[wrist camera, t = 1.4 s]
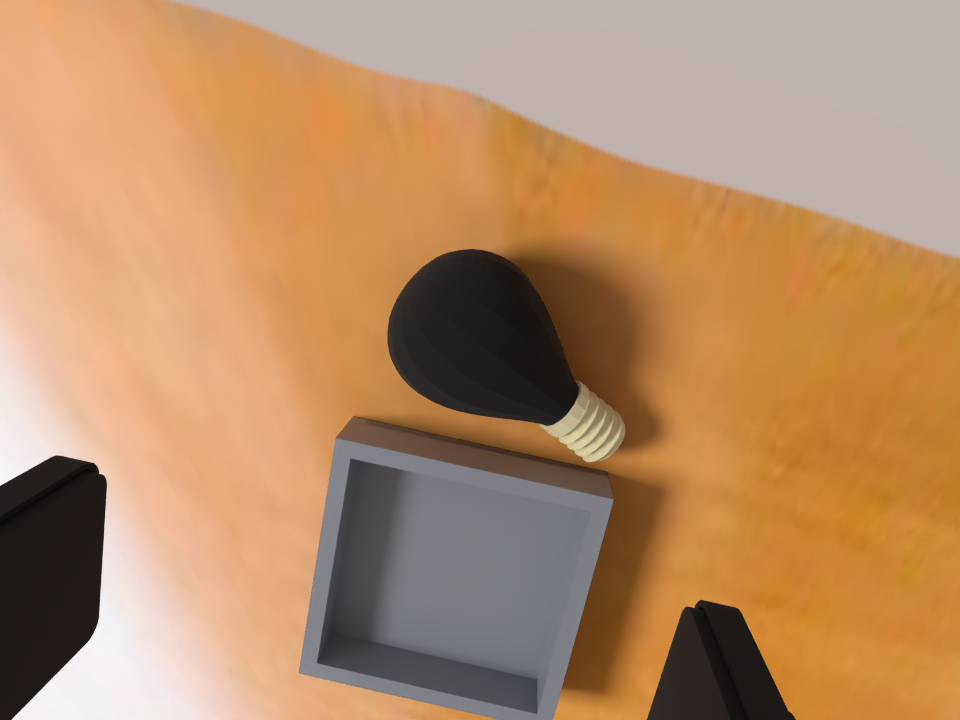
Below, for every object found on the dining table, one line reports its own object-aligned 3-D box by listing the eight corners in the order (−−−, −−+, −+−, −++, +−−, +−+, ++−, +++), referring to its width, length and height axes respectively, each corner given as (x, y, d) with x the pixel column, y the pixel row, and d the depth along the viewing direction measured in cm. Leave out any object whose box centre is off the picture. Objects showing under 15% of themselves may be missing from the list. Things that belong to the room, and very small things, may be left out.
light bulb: (659, 489, 27) (426, 304, 23) (545, 523, 31) (336, 374, 27) (677, 365, 31) (483, 191, 27) (574, 411, 36) (396, 269, 32)
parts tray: (548, 687, 36) (549, 731, 33) (317, 634, 36) (298, 673, 33) (606, 472, 33) (614, 499, 30) (353, 416, 33) (335, 438, 30)
